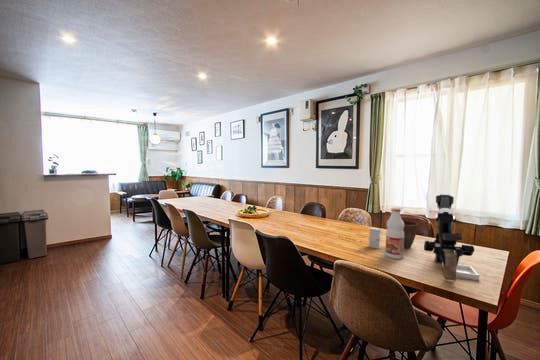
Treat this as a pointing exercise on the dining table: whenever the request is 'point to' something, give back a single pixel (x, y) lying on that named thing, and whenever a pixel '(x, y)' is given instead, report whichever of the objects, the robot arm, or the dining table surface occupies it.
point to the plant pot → (409, 233)
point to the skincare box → (374, 238)
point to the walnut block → (450, 265)
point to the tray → (466, 272)
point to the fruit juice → (395, 235)
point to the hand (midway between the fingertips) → (450, 265)
